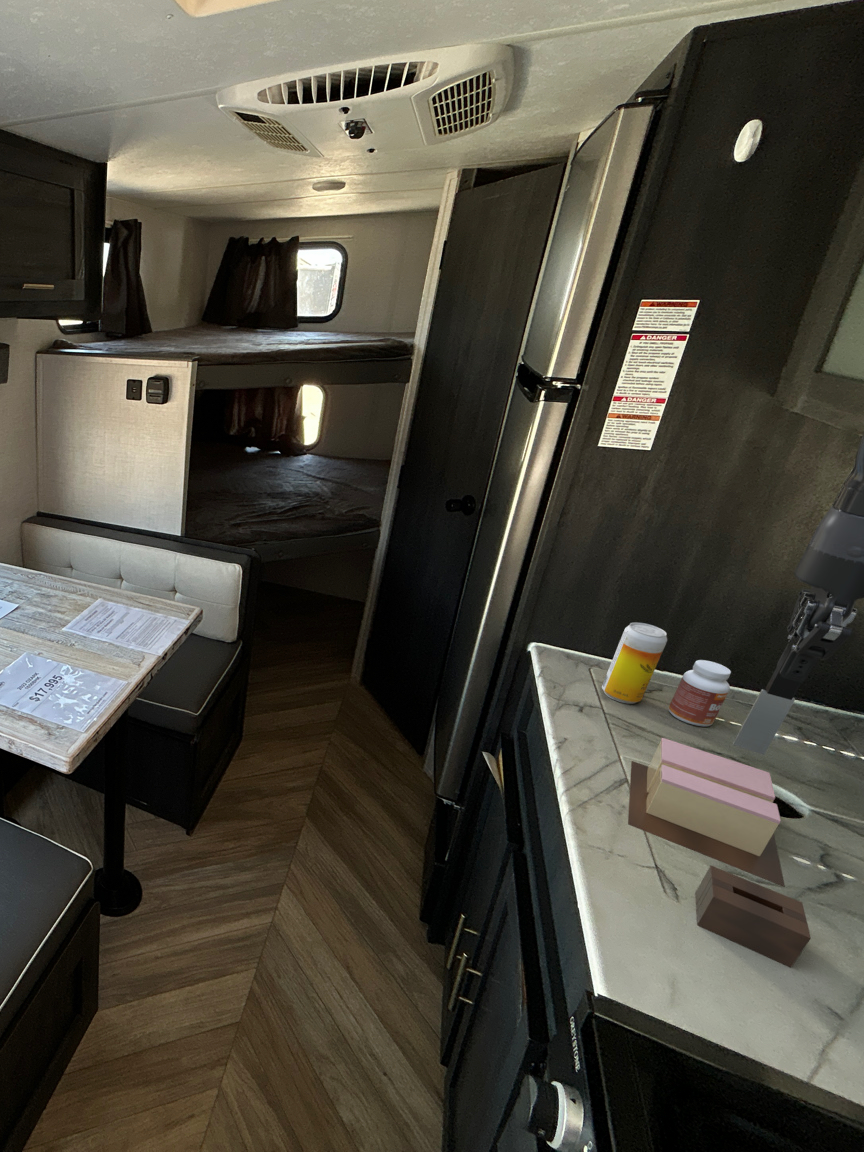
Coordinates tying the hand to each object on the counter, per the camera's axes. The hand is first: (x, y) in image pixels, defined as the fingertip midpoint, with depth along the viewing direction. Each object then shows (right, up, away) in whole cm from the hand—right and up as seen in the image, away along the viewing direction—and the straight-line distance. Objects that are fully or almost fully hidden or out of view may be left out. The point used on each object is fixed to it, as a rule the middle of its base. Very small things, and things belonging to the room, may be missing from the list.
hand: (789, 674), depth 80 cm
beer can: (+16, -13, +43) cm, 48 cm away
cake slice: (+1, -25, +12) cm, 27 cm away
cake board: (+2, -25, +14) cm, 29 cm away
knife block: (-9, -32, -2) cm, 33 cm away
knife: (0, -11, +5) cm, 12 cm away
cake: (+5, -23, +17) cm, 29 cm away
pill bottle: (+24, -15, +37) cm, 47 cm away
